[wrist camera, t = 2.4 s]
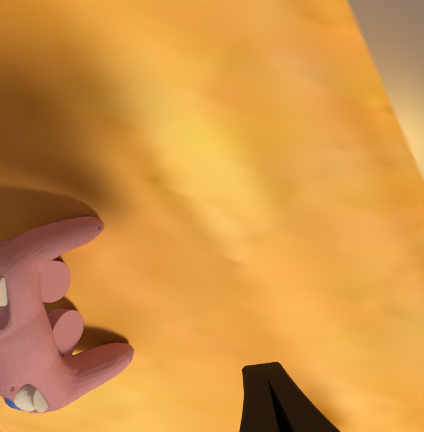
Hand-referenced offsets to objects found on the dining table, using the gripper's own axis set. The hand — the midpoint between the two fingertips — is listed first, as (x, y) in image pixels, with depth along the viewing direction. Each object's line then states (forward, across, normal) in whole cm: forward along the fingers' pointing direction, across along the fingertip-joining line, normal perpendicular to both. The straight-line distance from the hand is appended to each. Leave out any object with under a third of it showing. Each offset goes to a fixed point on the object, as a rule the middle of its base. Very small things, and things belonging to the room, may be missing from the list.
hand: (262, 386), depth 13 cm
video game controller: (+9, +10, 0) cm, 13 cm away
